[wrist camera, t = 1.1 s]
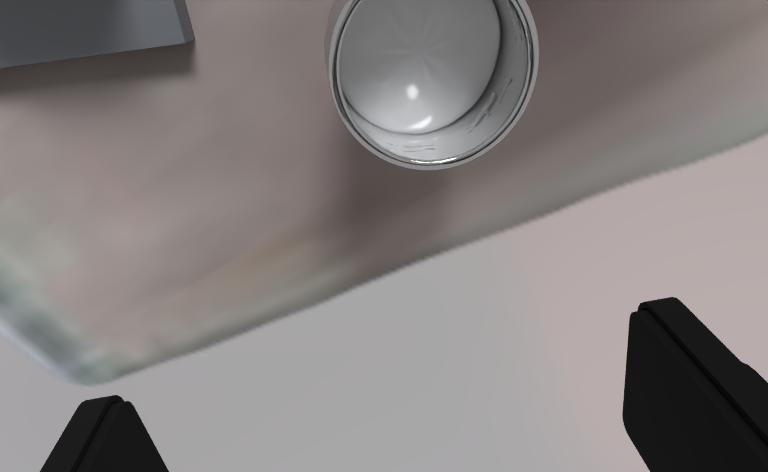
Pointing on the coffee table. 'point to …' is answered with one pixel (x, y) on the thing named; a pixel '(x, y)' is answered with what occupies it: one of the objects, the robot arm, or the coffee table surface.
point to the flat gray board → (87, 28)
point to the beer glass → (431, 75)
